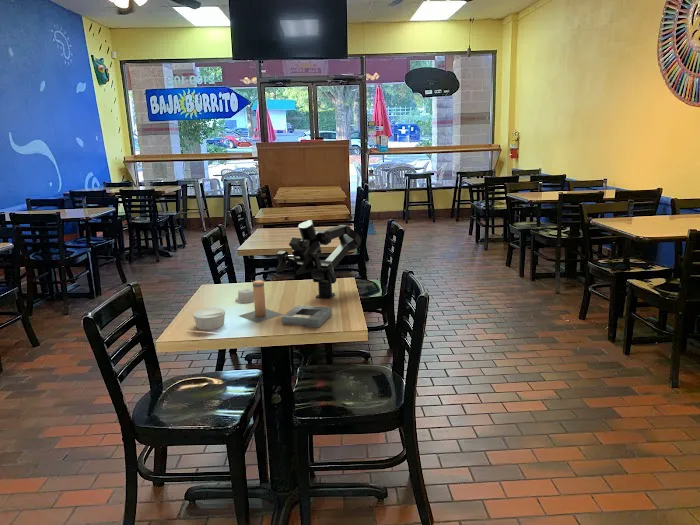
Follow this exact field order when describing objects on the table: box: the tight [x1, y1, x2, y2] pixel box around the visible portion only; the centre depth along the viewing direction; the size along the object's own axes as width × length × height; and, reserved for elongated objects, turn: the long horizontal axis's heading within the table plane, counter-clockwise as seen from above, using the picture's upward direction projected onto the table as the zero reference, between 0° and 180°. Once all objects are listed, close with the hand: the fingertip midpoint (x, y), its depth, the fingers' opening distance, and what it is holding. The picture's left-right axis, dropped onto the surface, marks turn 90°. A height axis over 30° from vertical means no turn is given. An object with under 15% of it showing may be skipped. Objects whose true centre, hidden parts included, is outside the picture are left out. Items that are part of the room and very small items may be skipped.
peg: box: [252, 279, 267, 317], centre depth 200 cm, size 4×4×13 cm
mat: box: [238, 308, 284, 324], centre depth 201 cm, size 12×12×1 cm
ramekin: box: [192, 307, 226, 331], centre depth 191 cm, size 11×11×5 cm
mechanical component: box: [235, 288, 254, 304], centre depth 222 cm, size 10×4×10 cm
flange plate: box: [281, 304, 333, 329], centre depth 195 cm, size 14×14×3 cm
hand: (286, 272), depth 199 cm, fingers open, 9 cm apart
